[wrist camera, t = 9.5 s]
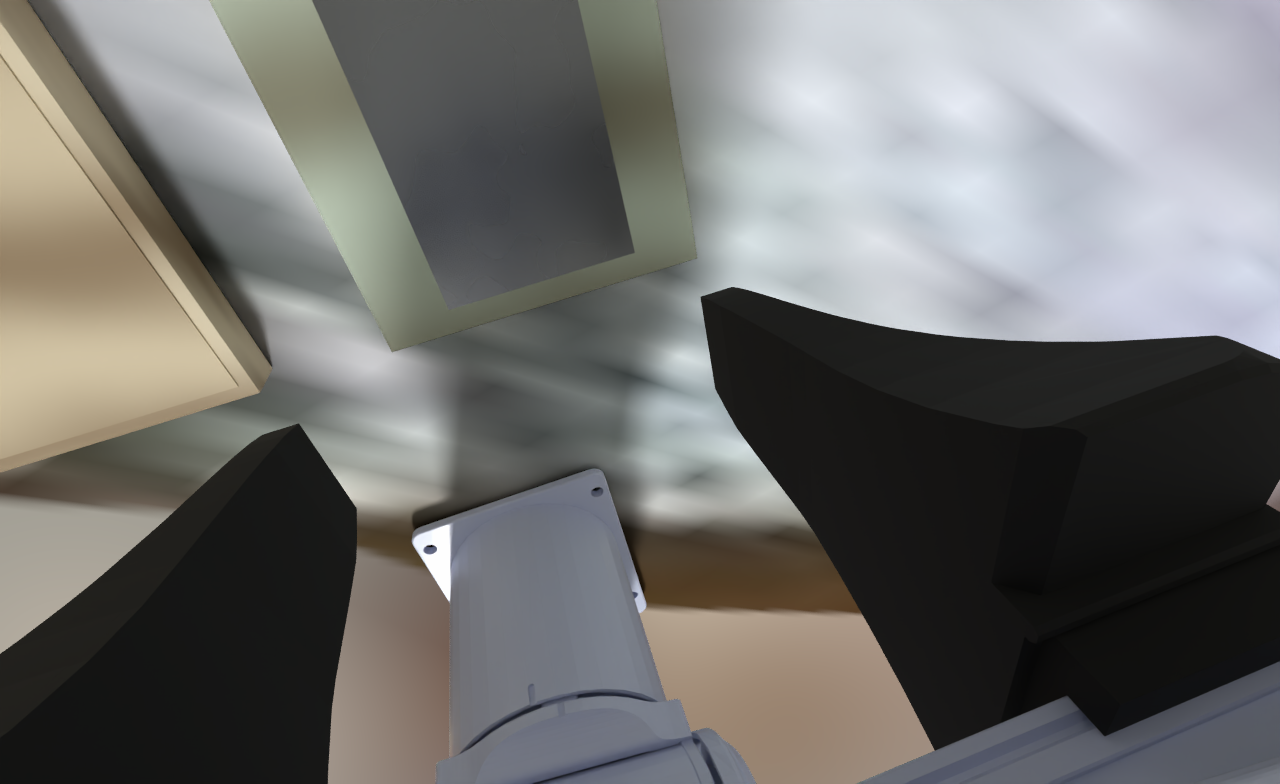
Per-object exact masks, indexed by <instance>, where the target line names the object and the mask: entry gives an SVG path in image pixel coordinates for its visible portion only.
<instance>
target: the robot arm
mask: <svg viewBox="0 0 1280 784" xmlns="http://www.w3.org/2000/svg"><path fill="white" fill-rule="evenodd" d="M701 303H702V309H703V315H704V321H705V328H706V334H707V340H708V346H709V352H710V358H711V365H712V371H713V377H714V383H715V389H716V391H717V393H718V395H719V397H720V398H721V400H722V402H723V404H724V406H725V408H726V410H727V411H728V413H729V415H730V417H731V419H732V420H733V422H734V424H735V426H736V427H737V429H738V430H739V432H740V433H741V434H742V436H743V437H744V439H745V440H746V441H747V443H748V444H749V445H750V447H751V448H752V449H753V451H754V452H755V453H756V455H757V456H758V457H759V459H760V460H761V461H762V462H763V464H764V465H765V466H766V468H767V469H768V470H769V472H770V473H771V474H772V476H773V477H774V478H775V480H776V481H777V482H778V483H779V485H780V486H781V487H782V489H783V490H784V491H785V493H786V494H787V495H788V497H789V498H790V499H791V501H792V502H793V503H794V504H795V506H796V507H797V508H798V510H799V511H800V512H801V514H802V515H803V517H804V518H805V520H806V521H807V523H808V524H809V525H810V527H811V528H812V530H813V531H814V533H815V534H816V536H817V538H818V539H819V541H820V543H821V544H822V546H823V548H824V549H825V551H826V553H827V554H828V556H829V558H830V559H831V561H832V563H833V564H834V566H835V568H836V569H837V571H838V573H839V574H840V576H841V578H842V580H843V581H844V583H845V585H846V587H847V588H848V590H849V592H850V594H851V595H852V597H853V599H854V601H855V602H856V604H857V606H858V608H859V609H860V611H861V613H862V615H863V616H864V618H865V620H866V622H867V623H868V625H869V626H870V629H871V630H872V632H873V634H874V636H875V637H876V640H877V641H878V643H879V645H880V647H881V649H882V651H883V653H884V654H885V656H886V658H887V660H888V662H889V663H890V665H891V667H892V669H893V671H894V673H895V675H896V676H897V678H898V680H899V682H900V684H901V686H902V688H903V689H904V691H905V693H906V695H907V697H908V699H909V701H910V703H911V705H912V707H913V709H914V711H915V713H916V714H917V716H918V718H919V720H920V722H921V724H922V726H923V728H924V730H925V732H926V734H927V736H928V738H929V740H930V742H931V744H932V746H933V748H934V750H935V751H933V752H931V753H928V754H926V755H924V756H921V757H919V758H917V759H914V760H912V761H909V762H907V763H905V764H902V765H900V766H897V767H895V768H893V769H890V770H888V771H885V772H883V773H881V774H879V775H876V776H873V777H871V778H869V779H866V780H864V781H862V782H859V783H857V784H1280V512H1279V511H1277V510H1276V509H1274V508H1272V507H1270V506H1269V505H1267V504H1266V503H1267V501H1268V499H1269V498H1270V496H1271V494H1272V492H1273V490H1274V489H1275V487H1276V485H1277V483H1278V482H1279V480H1280V359H1278V358H1275V357H1273V356H1270V355H1268V354H1266V353H1263V352H1261V351H1258V350H1256V349H1253V348H1251V347H1248V346H1246V345H1244V344H1241V343H1239V342H1236V341H1233V340H1231V339H1228V338H1225V337H1221V336H1200V337H1182V338H1164V339H1146V340H1129V341H1107V342H1036V341H1007V340H993V339H978V338H964V337H954V336H944V335H935V334H929V333H922V332H915V331H908V330H901V329H895V328H889V327H884V326H879V325H874V324H869V323H865V322H861V321H856V320H852V319H847V318H843V317H839V316H835V315H831V314H827V313H824V312H820V311H816V310H813V309H809V308H806V307H802V306H799V305H796V304H792V303H789V302H786V301H782V300H779V299H776V298H773V297H769V296H766V295H763V294H759V293H756V292H752V291H749V290H745V289H741V288H735V287H731V288H727V289H724V290H721V291H718V292H715V293H712V294H708V295H705V296H702V297H701ZM596 487H600V489H599V490H597V491H592V490H593V489H594V488H596ZM412 543H413V546H414V547H415V549H416V550H417V552H418V554H419V555H420V557H421V558H422V560H423V561H424V563H425V565H426V566H427V568H428V569H429V571H430V572H431V574H432V576H433V577H434V579H435V580H436V582H437V583H438V585H439V587H440V588H441V590H442V591H443V593H444V594H445V596H446V598H447V599H448V601H449V602H450V740H449V745H450V746H449V747H450V748H449V749H450V750H449V751H450V752H449V758H448V759H445V760H441V761H439V762H438V763H437V764H436V784H756V782H755V780H754V778H753V776H752V774H751V772H750V770H749V768H748V766H747V765H746V763H745V761H744V760H743V758H742V757H741V755H740V754H739V753H738V751H737V750H736V749H735V748H734V747H733V746H731V745H730V744H729V743H727V742H726V741H725V740H723V739H722V738H721V737H720V736H719V735H718V734H717V733H716V732H715V731H714V730H712V729H710V728H704V729H700V730H696V731H693V732H691V731H690V728H689V725H688V722H687V719H686V716H685V713H684V710H683V707H682V704H681V701H680V700H678V699H674V700H669V701H667V700H666V697H665V694H664V691H663V688H662V685H661V681H660V678H659V675H658V672H657V669H656V666H655V662H654V659H653V656H652V653H651V650H650V646H649V643H648V640H647V637H646V634H645V631H644V628H643V624H642V621H641V618H640V615H639V613H641V612H642V611H644V610H645V608H646V601H645V598H644V595H643V592H642V589H641V586H640V583H639V580H638V576H637V573H636V570H635V567H634V564H633V561H632V558H631V555H630V552H629V549H628V546H627V543H626V540H625V537H624V534H623V530H622V527H621V524H620V521H619V518H618V515H617V512H616V509H615V506H614V503H613V500H612V497H611V494H610V491H609V487H608V484H607V481H606V478H605V475H604V473H603V472H602V471H601V470H599V469H595V468H594V469H589V470H586V471H583V472H580V473H577V474H574V475H571V476H568V477H565V478H562V479H560V480H557V481H554V482H551V483H548V484H545V485H542V486H539V487H536V488H533V489H530V490H527V491H524V492H521V493H518V494H515V495H513V496H510V497H507V498H504V499H501V500H498V501H495V502H492V503H489V504H486V505H483V506H480V507H477V508H474V509H471V510H468V511H465V512H463V513H460V514H457V515H454V516H451V517H448V518H445V519H442V520H439V521H436V522H433V523H430V524H427V525H424V526H421V527H419V528H417V529H416V530H415V531H414V532H413V535H412ZM427 545H435V546H434V547H426V546H427ZM356 550H357V508H356V507H355V505H354V504H353V502H352V501H351V500H350V498H349V497H348V495H347V494H346V492H345V491H344V489H343V488H342V486H341V485H340V483H339V482H338V480H337V479H336V477H335V476H334V475H333V473H332V472H331V470H330V469H329V467H328V466H327V464H326V463H325V461H324V460H323V458H322V457H321V455H320V454H319V452H318V451H317V450H316V448H315V447H314V445H313V444H312V442H311V441H310V439H309V438H308V436H307V435H306V433H305V432H304V430H303V429H302V427H301V426H300V425H299V424H296V425H292V426H289V427H286V428H283V429H280V430H277V431H273V432H270V433H267V434H264V435H262V436H260V437H259V438H257V439H256V440H254V441H253V442H252V443H250V444H249V445H248V446H246V447H245V448H244V449H243V450H242V451H240V452H239V453H238V454H237V455H236V456H234V457H233V458H232V459H231V460H230V461H229V462H228V463H227V464H225V465H224V466H223V467H222V468H221V469H220V470H219V471H218V472H217V473H216V474H214V475H213V476H212V477H211V478H210V479H209V480H208V481H207V482H206V483H205V484H204V485H203V486H201V487H200V488H199V489H198V490H197V491H196V492H195V493H194V494H193V495H192V496H191V497H190V498H188V499H187V500H186V501H185V502H184V503H183V504H182V505H181V506H180V507H179V508H178V509H177V510H175V511H174V512H173V513H172V514H171V515H170V516H169V517H168V518H167V519H166V520H165V521H164V522H162V523H161V524H160V525H159V526H158V527H157V528H156V529H155V530H153V531H152V532H151V533H150V534H149V535H148V536H147V537H145V538H144V539H143V540H142V541H141V542H140V543H139V544H137V545H136V546H135V547H134V548H133V549H132V550H131V551H129V552H128V553H127V554H126V555H125V556H124V557H123V558H121V559H120V560H119V561H118V562H117V563H116V564H115V565H114V566H112V567H111V568H110V569H109V570H108V571H107V572H105V573H104V574H103V575H102V576H101V577H99V578H98V579H97V580H96V581H95V582H93V583H92V584H91V585H90V586H89V587H87V588H86V589H85V590H84V591H82V592H81V593H80V594H79V595H77V596H76V597H75V598H74V599H72V600H71V601H70V602H69V603H67V604H66V605H65V606H64V607H62V608H61V609H60V610H58V611H57V612H56V613H54V614H53V615H52V616H51V617H49V618H48V619H47V620H45V621H44V622H43V623H41V624H40V625H39V626H37V627H36V628H35V629H33V630H32V631H31V632H29V633H28V634H27V635H26V636H24V637H23V638H22V639H20V640H19V641H18V642H16V643H15V644H13V645H12V646H11V647H9V648H8V649H6V650H5V651H4V652H2V653H1V654H0V784H328V763H329V746H330V729H331V728H330V727H331V712H332V703H333V695H334V687H335V679H336V674H337V669H338V663H339V657H340V652H341V646H342V640H343V635H344V629H345V624H346V618H347V612H348V607H349V601H350V595H351V589H352V583H353V576H354V571H355V564H356Z"/></svg>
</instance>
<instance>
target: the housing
mask: <svg viewBox="0 0 1280 784" xmlns="http://www.w3.org/2000/svg"><path fill="white" fill-rule="evenodd" d="M312 1H313V4H314V6H315V8H316V11H317V13H318V15H319V17H320V20H321V22H322V24H323V26H324V29H325V31H326V33H327V35H328V38H329V40H330V42H331V45H332V47H333V49H334V51H335V54H336V56H337V58H338V60H339V63H340V65H341V67H342V69H343V72H344V74H345V76H346V79H347V81H348V83H349V85H350V88H351V90H352V92H353V94H354V97H355V99H356V101H357V103H358V106H359V108H360V110H361V112H362V115H363V117H364V119H365V122H366V124H367V126H368V128H369V131H370V133H371V135H372V137H373V140H374V142H375V144H376V146H377V149H378V151H379V153H380V156H381V158H382V160H383V162H384V165H385V167H386V169H387V171H388V174H389V176H390V178H391V180H392V183H393V185H394V187H395V190H396V192H397V194H398V196H399V199H400V201H401V203H402V205H403V208H404V210H405V212H406V214H407V217H408V219H409V221H410V223H411V226H412V228H413V230H414V233H415V235H416V237H417V239H418V242H419V244H420V246H421V248H422V251H423V253H424V255H425V257H426V260H427V262H428V264H429V267H430V269H431V271H432V273H433V276H434V278H435V280H436V282H437V285H438V287H439V289H440V291H441V294H442V296H443V298H444V301H445V303H446V305H447V307H448V310H451V309H454V308H457V307H460V306H464V305H467V304H470V303H473V302H477V301H480V300H483V299H486V298H490V297H493V296H496V295H499V294H503V293H506V292H509V291H512V290H516V289H519V288H522V287H525V286H529V285H532V284H535V283H538V282H542V281H545V280H548V279H551V278H555V277H558V276H561V275H564V274H568V273H571V272H574V271H577V270H581V269H584V268H587V267H590V266H594V265H597V264H600V263H603V262H607V261H610V260H613V259H616V258H620V257H623V256H626V255H629V254H633V253H635V251H634V246H633V242H632V237H631V233H630V229H629V224H628V220H627V215H626V211H625V207H624V202H623V198H622V193H621V189H620V184H619V180H618V176H617V171H616V167H615V162H614V158H613V154H612V149H611V145H610V140H609V136H608V131H607V127H606V123H605V118H604V114H603V109H602V105H601V101H600V96H599V92H598V87H597V83H596V78H595V74H594V70H593V65H592V61H591V56H590V52H589V47H588V43H587V39H586V34H585V30H584V25H583V21H582V17H581V12H580V8H579V3H578V0H312Z"/></svg>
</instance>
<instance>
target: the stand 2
mask: <svg viewBox="0 0 1280 784" xmlns="http://www.w3.org/2000/svg"><path fill="white" fill-rule="evenodd" d="M209 1H210V3H211V5H212V7H213V9H214V11H215V13H216V15H217V16H218V18H219V20H220V22H221V24H222V26H223V28H224V30H225V32H226V34H227V36H228V38H229V40H230V41H231V43H232V45H233V47H234V49H235V51H236V53H237V55H238V57H239V59H240V61H241V63H242V65H243V66H244V68H245V70H246V72H247V74H248V76H249V78H250V80H251V82H252V84H253V86H254V88H255V90H256V91H257V93H258V95H259V97H260V99H261V101H262V103H263V105H264V107H265V109H266V111H267V113H268V115H269V116H270V118H271V120H272V122H273V124H274V126H275V128H276V130H277V132H278V134H279V136H280V138H281V140H282V141H283V143H284V145H285V147H286V149H287V151H288V153H289V155H290V157H291V159H292V161H293V163H294V165H295V166H296V168H297V170H298V172H299V174H300V176H301V178H302V180H303V182H304V184H305V186H306V188H307V190H308V191H309V193H310V195H311V197H312V199H313V201H314V203H315V205H316V207H317V209H318V211H319V213H320V215H321V216H322V218H323V220H324V222H325V224H326V226H327V228H328V230H329V232H330V234H331V236H332V238H333V240H334V241H335V243H336V245H337V247H338V249H339V251H340V253H341V255H342V257H343V259H344V261H345V263H346V265H347V266H348V268H349V270H350V272H351V274H352V276H353V278H354V280H355V282H356V284H357V286H358V288H359V290H360V291H361V293H362V295H363V297H364V299H365V301H366V303H367V305H368V307H369V309H370V311H371V313H372V315H373V316H374V318H375V320H376V322H377V324H378V326H379V328H380V330H381V332H382V334H383V336H384V338H385V340H386V341H387V343H388V345H389V347H390V349H391V351H392V352H394V351H397V350H400V349H404V348H407V347H410V346H414V345H417V344H420V343H423V342H427V341H430V340H433V339H436V338H440V337H443V336H446V335H449V334H453V333H456V332H459V331H462V330H466V329H469V328H472V327H475V326H479V325H482V324H485V323H488V322H492V321H495V320H498V319H501V318H505V317H508V316H511V315H514V314H518V313H521V312H524V311H527V310H531V309H534V308H537V307H540V306H544V305H547V304H550V303H553V302H557V301H560V300H563V299H566V298H570V297H573V296H576V295H579V294H583V293H586V292H589V291H592V290H596V289H599V288H602V287H605V286H609V285H612V284H615V283H618V282H622V281H625V280H628V279H631V278H635V277H638V276H641V275H644V274H648V273H651V272H654V271H657V270H661V269H664V268H667V267H670V266H674V265H677V264H680V263H683V262H687V261H690V260H693V259H696V258H697V253H696V247H695V241H694V235H693V228H692V222H691V216H690V209H689V203H688V197H687V191H686V184H685V178H684V172H683V165H682V159H681V153H680V146H679V140H678V134H677V128H676V121H675V115H674V109H673V102H672V96H671V90H670V84H669V77H668V71H667V65H666V58H665V52H664V46H663V40H662V33H661V27H660V21H659V14H658V8H657V2H656V0H578V3H579V8H580V12H581V17H582V21H583V25H584V30H585V34H586V39H587V43H588V47H589V52H590V56H591V61H592V65H593V70H594V74H595V78H596V83H597V87H598V92H599V96H600V101H601V105H602V109H603V114H604V118H605V123H606V127H607V131H608V136H609V140H610V145H611V149H612V154H613V158H614V162H615V167H616V171H617V176H618V180H619V184H620V189H621V193H622V198H623V202H624V207H625V211H626V215H627V220H628V224H629V229H630V233H631V237H632V242H633V246H634V251H635V253H633V254H629V255H626V256H623V257H620V258H616V259H613V260H610V261H607V262H603V263H600V264H597V265H594V266H590V267H587V268H584V269H581V270H577V271H574V272H571V273H568V274H564V275H561V276H558V277H555V278H551V279H548V280H545V281H542V282H538V283H535V284H532V285H529V286H525V287H522V288H519V289H516V290H512V291H509V292H506V293H503V294H499V295H496V296H493V297H490V298H486V299H483V300H480V301H477V302H473V303H470V304H467V305H464V306H460V307H457V308H454V309H451V310H448V307H447V305H446V303H445V301H444V298H443V296H442V294H441V291H440V289H439V287H438V285H437V282H436V280H435V278H434V276H433V273H432V271H431V269H430V267H429V264H428V262H427V260H426V257H425V255H424V253H423V251H422V248H421V246H420V244H419V242H418V239H417V237H416V235H415V233H414V230H413V228H412V226H411V223H410V221H409V219H408V217H407V214H406V212H405V210H404V208H403V205H402V203H401V201H400V199H399V196H398V194H397V192H396V190H395V187H394V185H393V183H392V180H391V178H390V176H389V174H388V171H387V169H386V167H385V165H384V162H383V160H382V158H381V156H380V153H379V151H378V149H377V146H376V144H375V142H374V140H373V137H372V135H371V133H370V131H369V128H368V126H367V124H366V122H365V119H364V117H363V115H362V112H361V110H360V108H359V106H358V103H357V101H356V99H355V97H354V94H353V92H352V90H351V88H350V85H349V83H348V81H347V79H346V76H345V74H344V72H343V69H342V67H341V65H340V63H339V60H338V58H337V56H336V54H335V51H334V49H333V47H332V45H331V42H330V40H329V38H328V35H327V33H326V31H325V29H324V26H323V24H322V22H321V20H320V17H319V15H318V13H317V11H316V8H315V6H314V4H313V1H312V0H209Z"/></svg>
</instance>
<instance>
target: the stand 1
mask: <svg viewBox="0 0 1280 784" xmlns="http://www.w3.org/2000/svg"><path fill="white" fill-rule="evenodd" d="M271 371H272V367H271V366H270V364H269V363H268V361H267V360H266V358H265V357H264V355H263V354H262V352H261V351H260V349H259V348H258V346H257V345H256V343H255V342H254V340H253V339H252V337H251V336H250V334H249V333H248V331H247V330H246V328H245V327H244V325H243V324H242V322H241V321H240V319H239V318H238V316H237V315H236V313H235V312H234V310H233V309H232V307H231V306H230V304H229V303H228V301H227V300H226V298H225V297H224V295H223V294H222V292H221V291H220V289H219V288H218V286H217V285H216V283H215V282H214V280H213V279H212V277H211V276H210V274H209V273H208V271H207V270H206V268H205V267H204V265H203V264H202V262H201V261H200V259H199V258H198V256H197V255H196V253H195V252H194V250H193V249H192V247H191V246H190V244H189V243H188V241H187V240H186V238H185V237H184V235H183V234H182V232H181V231H180V229H179V228H178V226H177V225H176V223H175V222H174V220H173V219H172V217H171V216H170V214H169V213H168V211H167V210H166V208H165V207H164V205H163V204H162V202H161V201H160V199H159V198H158V196H157V195H156V193H155V192H154V190H153V189H152V187H151V186H150V184H149V183H148V181H147V180H146V178H145V177H144V175H143V174H142V172H141V171H140V169H139V168H138V166H137V165H136V163H135V162H134V160H133V159H132V157H131V156H130V154H129V153H128V151H127V150H126V148H125V147H124V145H123V144H122V142H121V141H120V139H119V138H118V136H117V135H116V133H115V132H114V130H113V129H112V127H111V126H110V124H109V123H108V121H107V120H106V118H105V117H104V115H103V114H102V112H101V111H100V109H99V108H98V106H97V105H96V103H95V102H94V100H93V99H92V97H91V96H90V94H89V93H88V91H87V90H86V88H85V87H84V85H83V84H82V82H81V81H80V79H79V78H78V76H77V75H76V73H75V72H74V70H73V69H72V67H71V66H70V64H69V63H68V61H67V60H66V58H65V57H64V55H63V54H62V52H61V51H60V49H59V48H58V46H57V45H56V43H55V42H54V40H53V39H52V37H51V36H50V34H49V33H48V31H47V30H46V28H45V27H44V25H43V24H42V22H41V21H40V19H39V18H38V16H37V15H36V13H35V12H34V10H33V9H32V7H31V6H30V4H29V3H28V1H27V0H0V472H3V471H7V470H10V469H13V468H16V467H20V466H23V465H26V464H29V463H33V462H36V461H39V460H42V459H46V458H49V457H52V456H55V455H59V454H62V453H65V452H68V451H72V450H75V449H78V448H81V447H85V446H88V445H91V444H94V443H98V442H101V441H104V440H107V439H111V438H114V437H117V436H120V435H124V434H127V433H130V432H133V431H137V430H140V429H143V428H146V427H150V426H153V425H156V424H159V423H163V422H166V421H169V420H172V419H176V418H179V417H182V416H185V415H189V414H192V413H195V412H198V411H202V410H205V409H208V408H211V407H215V406H218V405H221V404H224V403H228V402H231V401H234V400H237V399H241V398H244V397H247V396H250V395H254V394H257V393H260V392H261V390H262V388H263V386H264V384H265V382H266V380H267V378H268V376H269V374H270V372H271Z"/></svg>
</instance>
